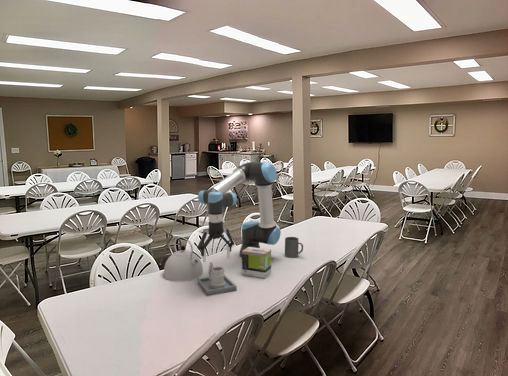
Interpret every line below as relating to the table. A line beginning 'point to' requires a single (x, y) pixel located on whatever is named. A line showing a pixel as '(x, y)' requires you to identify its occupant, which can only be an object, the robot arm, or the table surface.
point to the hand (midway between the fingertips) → (216, 259)
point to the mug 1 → (216, 276)
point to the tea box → (256, 262)
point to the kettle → (183, 265)
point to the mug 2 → (292, 247)
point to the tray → (207, 288)
